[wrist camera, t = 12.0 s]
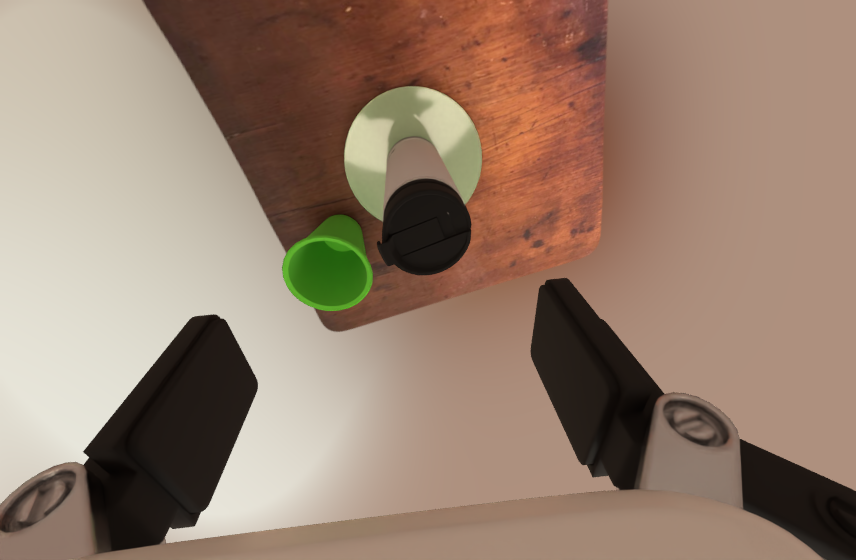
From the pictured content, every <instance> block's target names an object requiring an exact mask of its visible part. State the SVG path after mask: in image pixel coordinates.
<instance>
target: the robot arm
mask: <svg viewBox="0 0 856 560" xmlns="http://www.w3.org/2000/svg"><path fill="white" fill-rule="evenodd" d="M531 357H532V360H533V362H534V365H535V367H536V369H537V371H538V374H539V376H540V378H541V380H542V382H543V384H544V387H545V389H546V391H547V393H548V395H549V397H550V400H551V402H552V404H553V406H554V408H555V410H556V412H557V415H558V417H559V419H560V421H561V423H562V426H563V428H564V430H565V432H566V434H567V436H568V439H569V441H570V443H571V445H572V447H573V450H574V451H575V454H576V456H577V458H578V460H579V462H580V463H581V464H582V465H587V466H588V468H589V470H590V472H591V474H592V477H600V476H608V475H609V477H610V479H611V481H612V483H613V485H614V486H616V487H617V489H616V491H598V492H588V493H578V494H568V495H558V496H548V497H538V498H529V499H520V500H512V501H503V502H495V503H487V504H478V505H470V506H461V507H452V508H444V509H435V510H427V511H419V512H411V513H403V514H394V515H387V516H378V517H370V518H363V519H354V520H346V521H338V522H331V523H322V524H314V525H306V526H298V527H290V528H282V529H274V530H266V531H259V532H252V533H244V534H235V535H228V536H220V537H213V538H205V539H197V540H190V541H181V542H174V543H167V544H166V540H165V536H166V534H167V532H168V530H169V528H170V527H171V528H172V529H176V528H185V527H192V526H195V524H196V522H197V520H198V518H199V515H200V513H201V512H202V511H204V510H205V509H206V508H207V507H208V505H209V503H210V501H211V499H212V496H213V494H214V491H215V489H216V487H217V484H218V482H219V480H220V477H221V475H222V473H223V470H224V468H225V466H226V463H227V461H228V458H229V456H230V454H231V451H232V449H233V447H234V444H235V442H236V440H237V437H238V435H239V433H240V430H241V428H242V425H243V423H244V421H245V418H246V416H247V414H248V411H249V409H250V407H251V404H252V402H253V399H254V397H255V395H256V392H257V389H258V382H257V379H256V377H255V375H254V373H253V371H252V369H251V367H250V366H249V364H248V362H247V360H246V358H245V356H244V354H243V352H242V350H241V348H240V346H239V344H238V343H237V341H236V339H235V337H234V335H233V333H232V331H231V329H230V327H229V326H228V324H227V322H226V320H224V319H220V317H218V316H217V315H204V316H195V317H192V318H191V319H190V320H189V321H188V322H187V324H186V325H185V326H184V327H183V329H182V330H181V331H180V332H179V334H178V335H177V336H176V337H175V338H174V340H173V341H172V342H171V343H170V345H169V346H168V347H167V348H166V350H165V351H164V352H163V353H162V355H161V356H160V357H159V358H158V360H157V361H156V362H155V364H153V366H152V367H151V368H150V370H149V371H148V372H147V373H146V374H145V376H144V377H143V378H142V379H141V381H140V382H139V383H138V384H137V386H136V387H135V388H134V389H133V391H132V392H131V393H130V394H129V395H128V397H127V398H126V399H125V400H124V402H123V403H122V404H121V406H120V407H119V408H118V409H117V410H116V412H115V413H114V414H113V415H112V417H111V418H110V419H109V420H108V422H107V423H106V424H105V425H104V427H103V428H102V429H101V430H100V431H99V433H98V434H97V435H96V437H95V438H94V439H93V440H92V441H91V443H90V444H89V445H88V446H87V448H86V449H85V450H84V451H83V452H84V453H85V454H86V455H87V456H88V457H89V459H88V460H87V461H86V462H85V464H84V465H82V464H79V463H77V462H68V463H63V464H60V465H57V466H53V467H51V468H49V469H47V470H45V471H43V472H41V473H39V474H37V475H36V476H34V477H32V478H31V479H29V480H28V481H26V482H25V483H23V484H22V485H21V486H20V487H18V488H17V489H16V490H15V491H14V492H12V493H11V494H10V495H9V496H8V497H7V498H6V499H5V500H4V501H3V502H2V503H1V505H0V560H856V491H854V490H852V489H850V488H848V487H846V486H843V485H841V484H839V483H837V482H835V481H832V480H830V479H828V478H826V477H824V476H821V475H819V474H817V473H815V472H812V471H810V470H808V469H806V468H804V467H801V466H799V465H797V464H795V463H792V462H790V461H788V460H786V459H784V458H781V457H779V456H777V455H775V454H772V453H770V452H768V451H766V450H764V449H761V448H759V447H757V446H755V445H753V444H750V443H748V442H746V441H744V440H742V439H739V435H738V431H737V429H736V427H735V426H734V424H733V423H732V421H731V420H730V419H729V418H728V417H727V416H726V415H725V414H724V413H723V412H722V411H721V410H720V409H718V408H717V407H715V406H714V405H712V404H711V403H709V402H707V401H705V400H703V399H701V398H699V397H697V396H693V395H689V394H686V393H674V392H673V393H668V394H664V393H663V392H662V390H661V389H660V388H659V387H658V385H657V384H656V383H655V382H654V380H653V379H652V378H651V377H650V376H649V374H648V373H647V372H646V371H645V370H644V368H643V367H642V366H641V365H640V363H639V362H638V361H637V360H636V358H635V357H634V356H633V355H632V354H631V352H630V351H629V350H628V349H627V347H626V346H625V345H624V344H623V343H622V341H621V340H620V339H619V338H618V336H617V335H616V334H615V333H614V331H613V330H612V329H611V328H610V326H609V325H608V324H607V323H606V322H605V321H604V320H602V319H600V318H599V317H598V315H597V314H596V313H595V312H594V310H593V309H592V308H591V307H590V305H589V304H588V303H587V302H586V300H585V299H584V298H583V297H582V295H581V294H580V293H579V292H578V290H577V289H576V288H575V287H574V285H573V284H572V283H571V282H570V280H569V279H567V278H561V279H551V280H547V281H546V282H545V285H541V286H540V288H539V293H538V301H537V308H536V315H535V323H534V329H533V336H532V344H531Z"/></svg>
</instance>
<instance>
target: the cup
mask: <svg viewBox="0 0 856 560" xmlns="http://www.w3.org/2000/svg"><path fill="white" fill-rule="evenodd" d="M282 271H283V278H284V280H285V283H286V285H287V287H288V289H289V290H290V291H291V293H292V294H293V295H294V296H295V297H296V298H297V299H299V300H300V301H301V302H303V303H305V304H307V305H308V306H311V307H313V308H316V309H319V310H326V311H338V310H343V309H347V308H350V307H352V306H354V305H356V304H357V303H359V302H360V301H361V300H362V299H364V298H365V296H366V295H367V293H368V292H369V290H370V288H371V285H372V278H373V273H372V269H371V265H370V263H369V261H368V259H367V257H366V251H365V246H364V240H363V235H362V230H361V228H360V226H359V224H358V223H357V222H356V221H355V220H354V219H352V218H351V217H349V216H346V215H333V216H331V217H329V218H327V219H326V220H325V221H324V222H323V223H322V224H321V225H320V226H319V227H318V228H316V229H315V230H314V231H313V232H312V233H311V234H310V235H309V236H308V237H307V238H305V239H303V240H301V241H299V242H297V243H296V244H295V245H293V246H292V247H291V248H290V249H289V250H288V252H287V254H286V256H285V258H284V261H283V266H282Z"/></svg>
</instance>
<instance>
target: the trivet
mask: <svg viewBox="0 0 856 560" xmlns="http://www.w3.org/2000/svg"><path fill="white" fill-rule="evenodd" d="M411 136H417V137H422V138H424V139H426V140H428V141H430V142H431V143H432V144H433V145H434V146H435V148H436V149H437V151H438V153H439V154H440V156H441V158H442V160H443V162H444V164H445V166H446V168H447V170H448V172H449V174H450V176H451V177H452V179H453V181H454V183H455V185H456V187H457V189H458V191H459V193H460V195H461V197H462V199H463V201H464V203H465V204H466V203H467V202H468V200H469V199H470V197H471V196H472V194H473V192H474V190H475V188H476V186H477V183H478V180H479V177H480V172H481V166H482V149H481V143H480V139H479V136H478V132H477V130H476V128H475V125H474V123H473V122H472V120H471V118H470V117H469V115H468V114H467V113H466V112H465V110H464V109H463V108H462V107H461V106H460V105H459V104H458V103H457V102H456V101H454V100H453V99H451V98H450V97H449V96H447V95H445V94H443V93H441V92H439V91H437V90H434V89H431V88H428V87H422V86H403V87H397V88H394V89H391V90H388V91H386V92H384V93H382V94H380V95H378V96H377V97H375V98H374V99H372V100H371V101H370V102H369V103H368V104H366V105H365V106H364V107H363V109H362V110H361V111H360V112H359V114H358V115H357V116H356V118H355V120H354V121H353V123H352V125H351V127H350V130H349V132H348V135H347V139H346V142H345V149H344V165H345V172H346V176H347V180H348V182H349V185H350V188H351V190H352V191H353V193H354V195H355V197H356V198H357V200H358V201H359V202H360V204H361V205H362V206H363V207H364V208H365V209H366V210H367V211H368V212H369V213H370V214H372V215H373V216H374V217H376V218H377V219H379V220H381V221H383V220H382V219H383V206H384V193H385V180H386V167H387V158H388V154H389V152H390V150H391V148H392V147H393V146H394V145H395V144H396V143H397V142H398V141H399V140H401V139H403V138H406V137H411Z"/></svg>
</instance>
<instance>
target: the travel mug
mask: <svg viewBox="0 0 856 560" xmlns="http://www.w3.org/2000/svg"><path fill="white" fill-rule="evenodd" d="M382 220H383V230H382V244H381V243H380V241H378V242H377V247H378V250H379V252H380V254H381V256H382V258H383V260H384V262H385V263H386V264H387V266H391V265H393V264H395V265H396V266H397V267H398V268H400V269H401V270H403V271H405V272H408V273H410V274H415V275H432V274H436V273H439V272H442V271H444V270H446V269H448V268H450V267H451V266H453V265H454V264H455V263H457V262H458V261H459V259H460V258H461V257H462V256H463V255H464V253H465V252H466V250H467V248H468V246H469V244H470V239H471V219H470V215H469V213H468V211H467V208H466V206H465V203H464V201H463V199H462V197H461V195H460V193H459V191H458V189H457V187H456V185H455V183H454V181H453V179H452V177H451V176H450V174H449V172H448V170H447V168H446V166H445V164H444V162H443V160H442V158H441V156H440V154H439V153H438V151H437V149H436V148H435V146H434V145H433V144H432V143H431V142H430V141H428V140H426V139H424V138H422V137H417V136H411V137H406V138H403V139H401V140H399V141H398V142H397V143H396V144H395V145H394V146H393V147H392V148H391V150H390V152H389V154H388V158H387V167H386V180H385V193H384V206H383V219H382Z"/></svg>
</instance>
